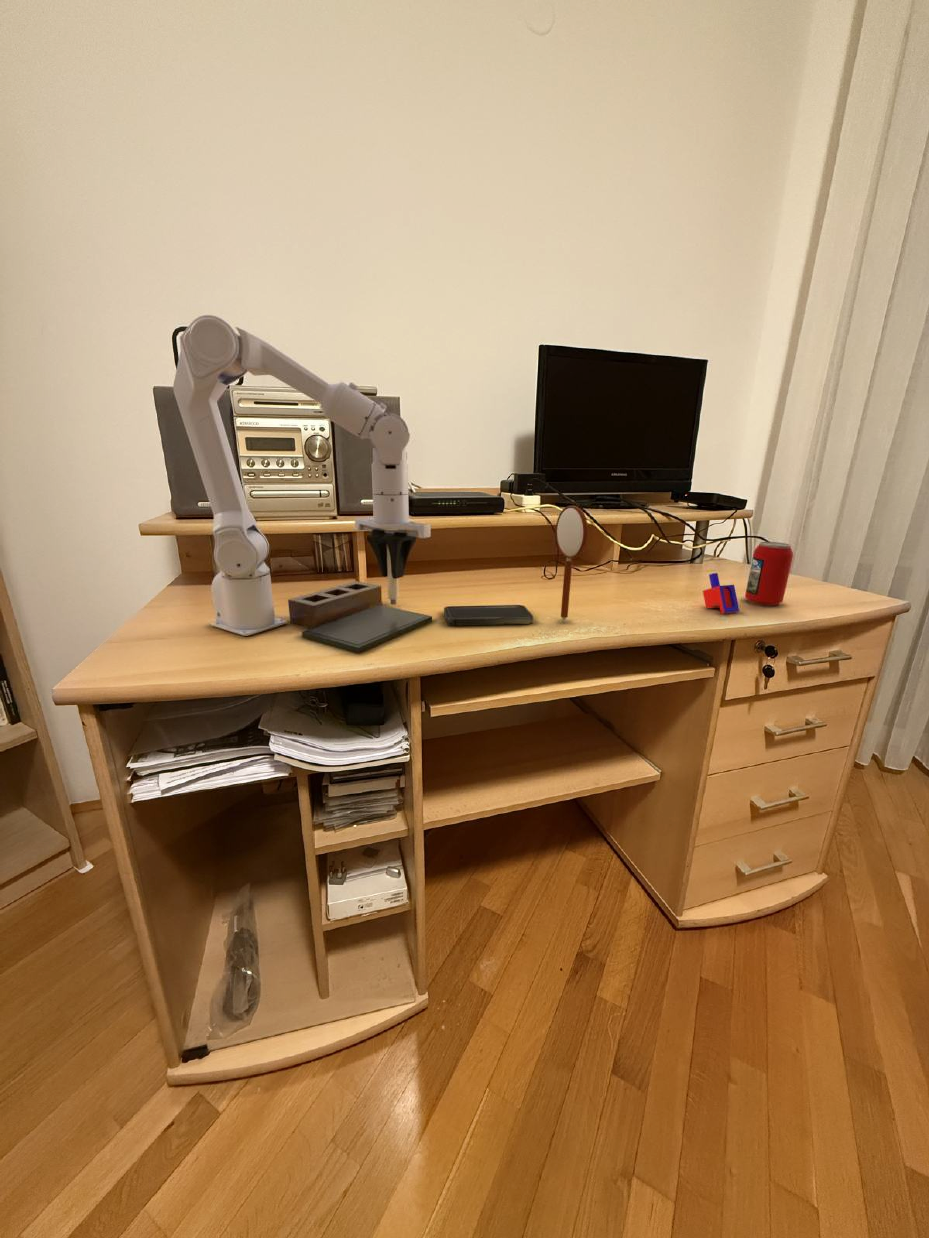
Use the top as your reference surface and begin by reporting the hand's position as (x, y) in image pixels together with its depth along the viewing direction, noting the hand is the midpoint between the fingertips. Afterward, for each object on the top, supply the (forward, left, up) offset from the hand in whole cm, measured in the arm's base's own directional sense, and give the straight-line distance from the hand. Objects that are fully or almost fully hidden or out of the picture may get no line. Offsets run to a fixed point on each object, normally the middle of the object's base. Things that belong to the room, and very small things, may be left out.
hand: (392, 576), depth 83 cm
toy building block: (+47, +41, -8) cm, 63 cm away
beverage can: (+54, +52, -8) cm, 75 cm away
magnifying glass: (+25, +16, -8) cm, 31 cm away
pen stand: (-10, -3, -8) cm, 13 cm away
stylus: (0, 0, -5) cm, 5 cm away
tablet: (0, -6, -8) cm, 10 cm away
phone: (+13, +10, -8) cm, 18 cm away
